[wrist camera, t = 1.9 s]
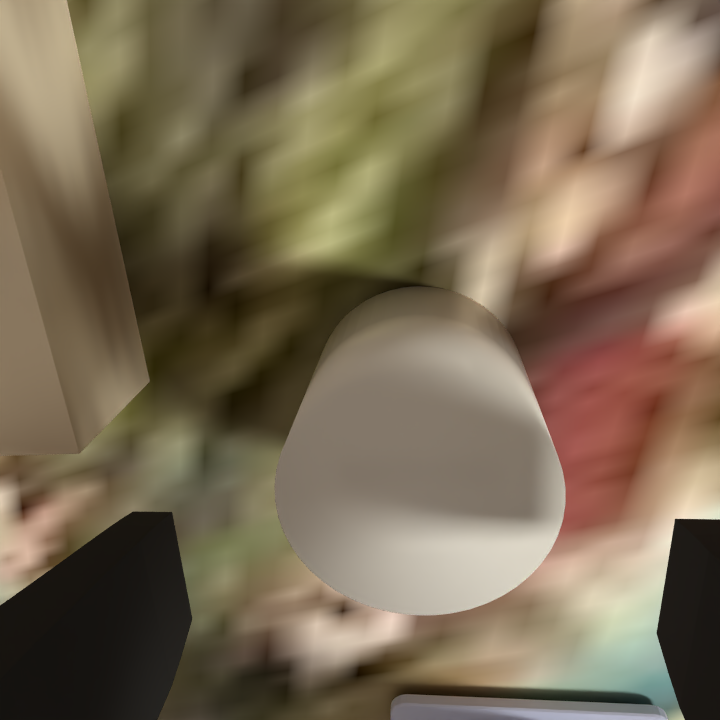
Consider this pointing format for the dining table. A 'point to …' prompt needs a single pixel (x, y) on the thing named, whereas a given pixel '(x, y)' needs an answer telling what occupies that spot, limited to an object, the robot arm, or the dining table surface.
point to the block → (57, 248)
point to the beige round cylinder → (420, 459)
